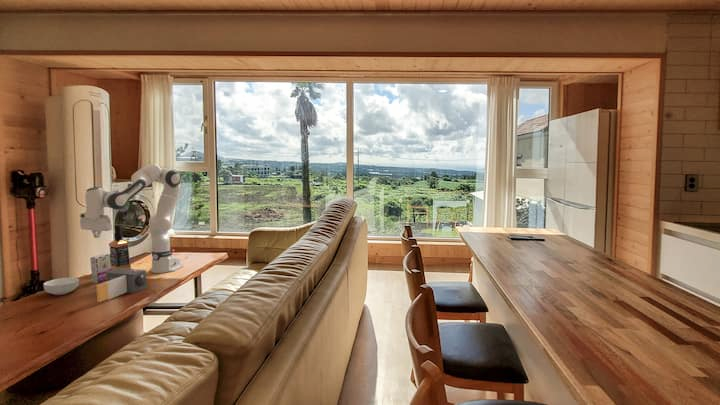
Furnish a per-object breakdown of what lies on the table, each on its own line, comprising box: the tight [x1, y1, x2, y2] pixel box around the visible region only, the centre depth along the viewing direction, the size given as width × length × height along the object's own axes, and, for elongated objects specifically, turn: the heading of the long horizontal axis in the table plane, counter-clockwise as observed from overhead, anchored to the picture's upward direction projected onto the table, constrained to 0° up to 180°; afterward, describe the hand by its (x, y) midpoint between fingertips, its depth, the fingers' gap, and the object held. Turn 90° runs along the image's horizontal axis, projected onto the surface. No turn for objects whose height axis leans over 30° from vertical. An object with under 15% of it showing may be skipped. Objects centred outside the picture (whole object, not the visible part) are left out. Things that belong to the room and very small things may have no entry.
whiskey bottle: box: [108, 224, 132, 270], centre depth 284 cm, size 10×10×32 cm
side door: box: [95, 275, 128, 303], centre depth 230 cm, size 20×2×10 cm, turn 167°
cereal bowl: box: [43, 277, 80, 296], centre depth 239 cm, size 17×17×7 cm
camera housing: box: [105, 268, 148, 294], centre depth 246 cm, size 10×22×12 cm, turn 74°
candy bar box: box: [89, 253, 112, 284], centre depth 262 cm, size 11×5×16 cm, turn 168°
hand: (97, 237), depth 245 cm, fingers closed
